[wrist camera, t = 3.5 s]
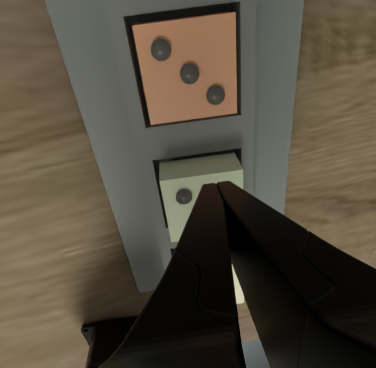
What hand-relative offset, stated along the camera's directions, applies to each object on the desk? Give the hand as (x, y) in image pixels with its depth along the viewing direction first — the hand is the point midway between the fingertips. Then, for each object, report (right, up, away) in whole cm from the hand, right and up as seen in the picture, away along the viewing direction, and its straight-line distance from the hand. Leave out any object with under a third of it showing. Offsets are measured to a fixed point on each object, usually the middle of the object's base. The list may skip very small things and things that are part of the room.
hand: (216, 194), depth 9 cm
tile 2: (0, 0, +11) cm, 11 cm away
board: (0, +1, +13) cm, 13 cm away
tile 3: (-1, +7, +8) cm, 11 cm away
